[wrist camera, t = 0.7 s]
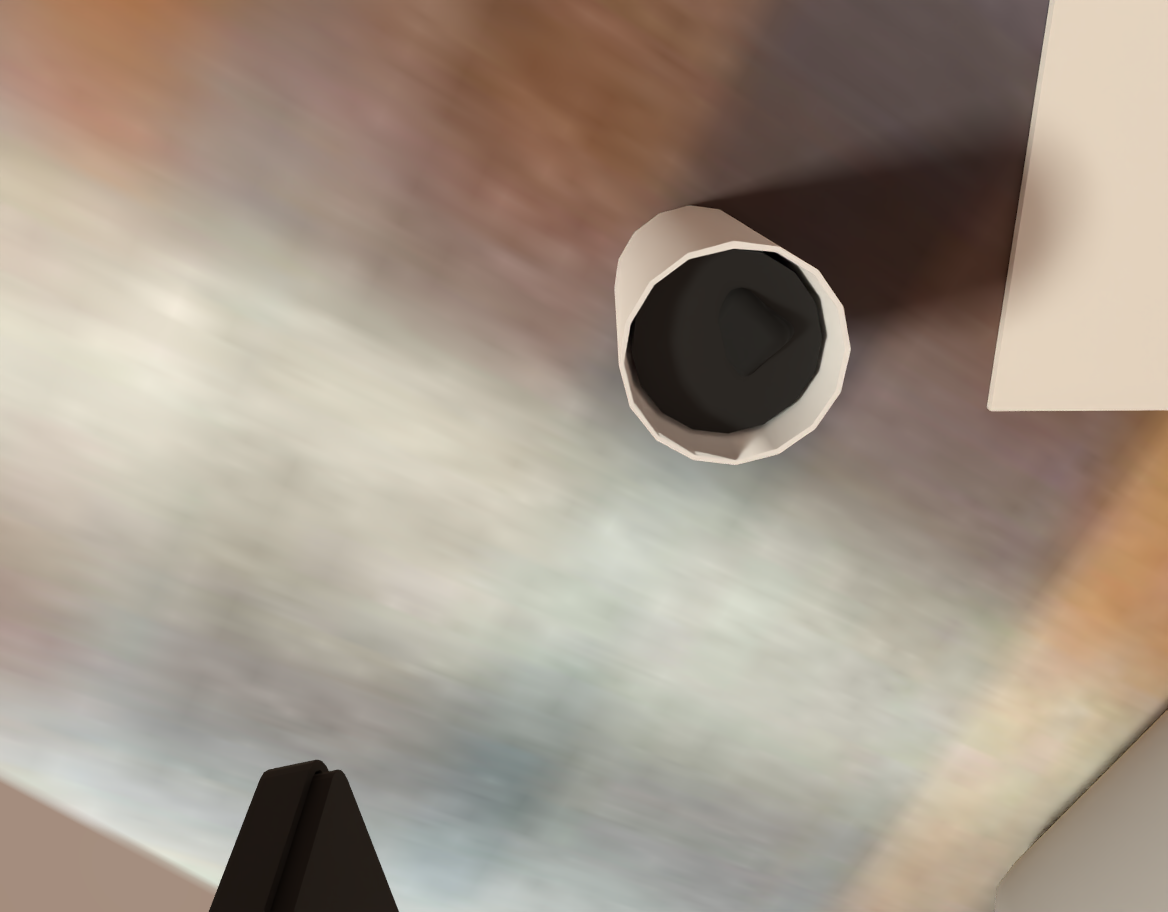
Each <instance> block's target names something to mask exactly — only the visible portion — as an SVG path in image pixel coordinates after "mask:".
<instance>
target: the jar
mask: <svg viewBox="0 0 1168 912" xmlns="http://www.w3.org/2000/svg"><path fill="white" fill-rule="evenodd" d="M994 912H1168V709H1167V710H1166V711H1165V712H1164V713H1163V714H1162V715H1161V716H1160V717H1159V718H1158V719H1157V720H1156V722H1155V723H1154V724H1153V725H1152V726H1151V727H1150V728H1149V729H1148V730H1147V731H1146V732H1145V733H1144V734H1143V735H1142V736H1141V737H1140V738H1139V739H1138V740H1137V741H1136V742H1135V743H1134V744H1133V745H1132V746H1131V747H1130V748H1129V749H1128V750H1127V751H1126V752H1125V753H1124V754H1123V755H1122V756H1121V757H1120V758H1119V759H1118V760H1117V761H1116V762H1115V763H1114V764H1113V765H1112V766H1111V767H1110V768H1109V769H1108V770H1107V771H1106V772H1105V773H1104V774H1103V775H1102V776H1101V777H1100V778H1099V779H1098V780H1097V781H1096V782H1095V783H1094V784H1093V785H1092V786H1091V787H1090V788H1089V789H1088V790H1087V791H1086V792H1085V793H1084V794H1083V795H1082V796H1081V797H1080V798H1079V799H1078V800H1077V801H1076V802H1075V803H1074V804H1073V805H1072V806H1071V807H1070V808H1069V809H1068V810H1067V811H1066V812H1065V813H1064V814H1063V815H1062V816H1061V817H1060V818H1059V819H1058V820H1057V821H1056V822H1055V823H1054V824H1053V825H1052V826H1051V827H1050V828H1049V829H1048V830H1047V831H1046V832H1045V833H1044V834H1043V835H1042V836H1041V837H1040V838H1039V839H1038V840H1037V841H1036V842H1035V843H1034V844H1033V845H1032V846H1031V847H1030V848H1029V849H1028V850H1027V851H1026V852H1025V853H1024V854H1023V855H1022V856H1021V857H1020V858H1019V859H1018V860H1017V861H1016V862H1015V863H1014V865H1013V866H1012V867H1011V868H1010V870H1009V871H1008V872H1007V874H1006V875H1005V876H1004V878H1003V879H1002V881H1001V882H1000V883H999V885H998V886H997V889H996V898H995V909H994Z"/></svg>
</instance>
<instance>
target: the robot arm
mask: <svg viewBox="0 0 1168 912" xmlns="http://www.w3.org/2000/svg"><path fill="white" fill-rule="evenodd" d="M209 912H399V911H398V908H397V906H396V903H395V901H394V898H393V895H392V893H391V890H390V888H389V885H388V883H387V880H386V877H385V875H384V872H383V870H382V867H381V865H380V862H379V859H378V857H377V854H376V852H375V849H374V847H373V844H372V841H371V839H370V836H369V834H368V831H367V829H366V826H365V823H364V821H363V818H362V816H361V813H360V811H359V808H358V805H357V803H356V800H355V798H354V795H353V792H352V790H351V787H350V785H349V782H348V780H347V778H346V776H345V774H344V773H343V772H342V771H341V770H334V771H328V769H327V767H326V765H325V764H324V763H323V762H322V761H320V760H313V761H308V762H303V763H298V764H294V765H289V766H284V767H279V768H274V769H269V770H267V771H266V772H264V773H263V775H262V777H261V778H260V781H259V783H258V786H257V788H256V791H255V793H254V796H253V799H252V801H251V804H250V806H249V809H248V812H247V814H246V817H245V819H244V822H243V824H242V827H241V830H240V832H239V835H238V837H237V840H236V843H235V845H234V848H233V850H232V853H231V856H230V858H229V861H228V863H227V866H226V868H225V871H224V874H223V876H222V879H221V881H220V884H219V887H218V889H217V892H216V894H215V897H214V900H213V902H212V905H211V907H210V910H209Z"/></svg>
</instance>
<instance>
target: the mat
mask: <svg viewBox="0 0 1168 912" xmlns="http://www.w3.org/2000/svg"><path fill="white" fill-rule="evenodd" d="M987 408H988V409H989V410H990V411H1090V410H1168V0H1050V3H1049V9H1048V16H1047V22H1046V29H1045V35H1044V42H1043V48H1042V55H1041V61H1040V67H1039V74H1038V80H1037V87H1036V93H1035V100H1034V106H1033V113H1032V119H1031V126H1030V132H1029V139H1028V145H1027V152H1026V158H1025V164H1024V171H1023V177H1022V184H1021V190H1020V197H1019V203H1018V210H1017V216H1016V223H1015V229H1014V236H1013V242H1012V248H1011V255H1010V261H1009V268H1008V274H1007V281H1006V287H1005V294H1004V300H1003V307H1002V313H1001V320H1000V326H999V332H998V339H997V345H996V352H995V358H994V365H993V371H992V378H991V384H990V391H989V397H988V404H987Z"/></svg>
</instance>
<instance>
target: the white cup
mask: <svg viewBox="0 0 1168 912" xmlns="http://www.w3.org/2000/svg"><path fill="white" fill-rule="evenodd" d="M614 289H615V304H616V322H617V339H618V356H619V367H620V371H621V375H622V379H623V382H624V386H625V390H626V394H627V397H628V401H629V405H630V408H631V409H632V410H633V411H634V413H635V414H636V415H637V416H638V418H639V419H640V420H641V421H642V423H643V424H644V425H645V426H646V428H647V429H648V430H649V431H650V433H651V434H652V435H653V437H654V438H655V439H656V440H657V441H659V442H661V443H663V444H665V445H667V446H668V447H670V448H672V449H674V450H676V451H678V452H680V453H681V454H683V455H685V456H687V457H689V458H691V459H692V460H698V461H707V462H716V463H725V464H733V465H737V464H741V463H745V462H749V461H753V460H757V459H761V458H765V457H769V456H773V455H776V454H779V453H781V452H782V451H784V450H785V449H787V448H788V447H789V446H791V445H792V444H794V443H795V442H797V441H798V440H800V439H801V438H802V437H804V436H805V435H807V434H808V433H810V432H811V431H813V430H814V429H815V428H816V427H817V425H818V424H819V423H820V421H821V420H822V418H823V417H824V415H825V414H826V413H827V411H828V410H829V408H830V407H831V405H832V404H833V402H834V401H835V400H836V398H837V397H838V395H839V394H840V392H841V389H842V384H843V380H844V376H845V372H846V367H847V363H848V359H849V354H850V350H851V348H850V343H849V337H848V331H847V325H846V320H845V314H844V308H843V305H842V304H841V302H840V301H839V300H838V298H837V297H836V295H835V294H834V292H833V291H832V289H831V288H830V286H829V285H828V283H827V282H826V280H825V279H824V278H823V276H822V275H821V273H820V272H819V270H817V269H816V268H814V267H813V266H811V265H809V264H808V263H806V262H804V261H803V260H801V259H800V258H798V257H796V256H795V255H793V254H791V253H790V252H788V251H786V250H785V249H783V248H782V247H780V246H778V245H777V244H775V243H773V242H772V241H770V240H769V239H767V238H765V237H764V236H762V235H760V234H759V233H757V232H755V231H754V230H752V229H751V228H749V227H747V226H746V225H744V224H743V223H741V222H739V221H738V220H736V219H735V218H733V217H731V216H730V215H728V214H726V213H725V212H723V211H721V210H720V209H713V208H706V207H698V206H691V205H688V206H684V207H681V208H677V209H673V210H670V211H666V212H662V213H659V214H658V215H656V216H655V217H654V218H652V219H651V220H650V221H649V222H647V223H646V224H645V225H643V226H642V227H641V228H639V229H638V230H637V231H636V232H634V234H633V236H632V237H631V239H630V241H629V242H628V244H627V246H626V247H625V249H624V251H623V253H622V254H621V256H620V258H619V260H618V267H617V274H616V281H615V288H614Z"/></svg>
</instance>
